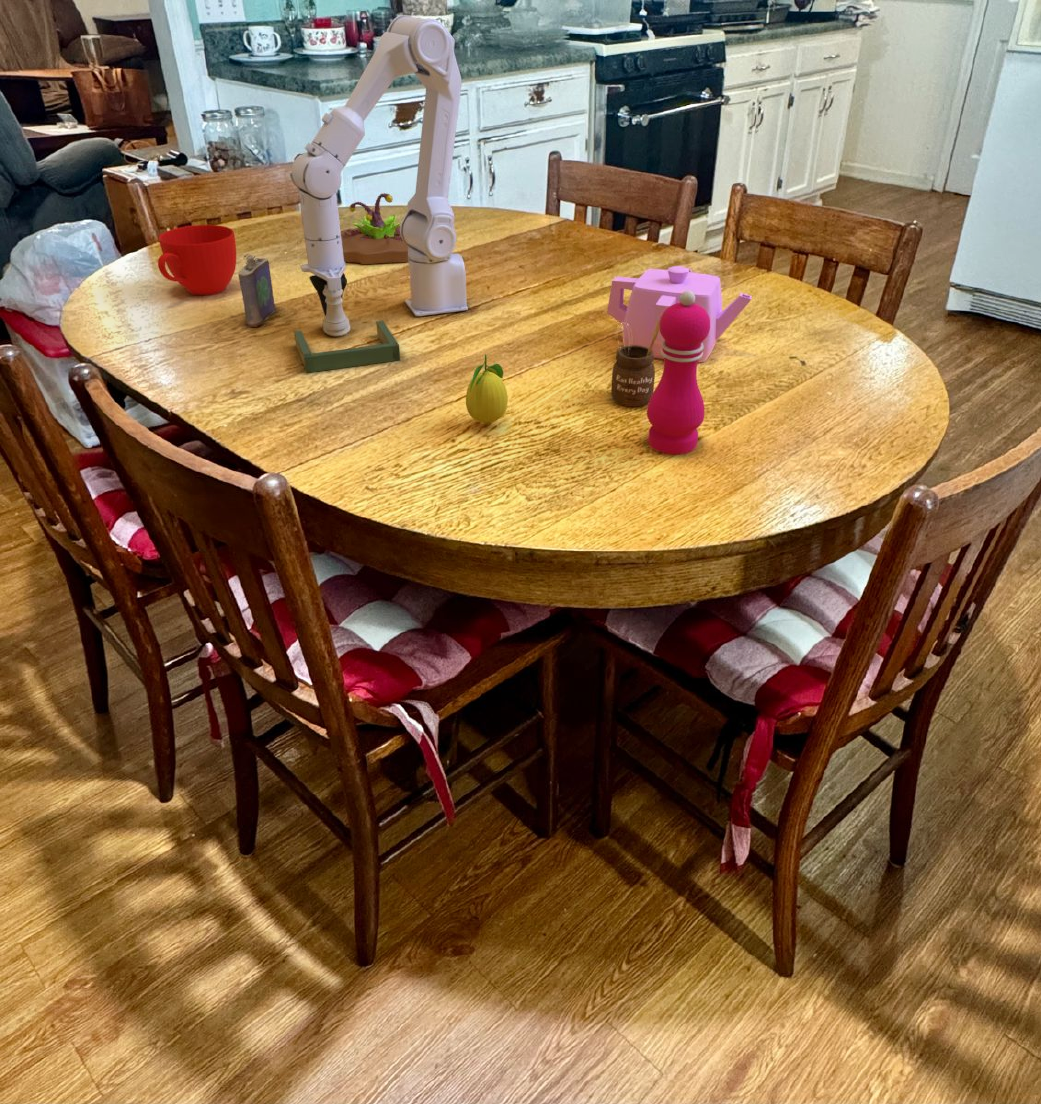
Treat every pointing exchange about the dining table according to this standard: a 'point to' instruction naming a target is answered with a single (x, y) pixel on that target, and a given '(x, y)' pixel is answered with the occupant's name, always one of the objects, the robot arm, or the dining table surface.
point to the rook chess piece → (335, 313)
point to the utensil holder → (633, 373)
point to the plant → (374, 238)
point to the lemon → (487, 394)
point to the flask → (256, 290)
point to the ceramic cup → (199, 257)
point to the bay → (349, 353)
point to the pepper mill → (679, 378)
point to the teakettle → (669, 304)
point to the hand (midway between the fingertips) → (333, 319)
